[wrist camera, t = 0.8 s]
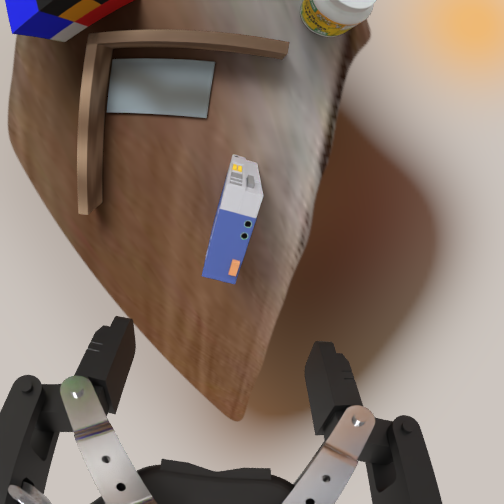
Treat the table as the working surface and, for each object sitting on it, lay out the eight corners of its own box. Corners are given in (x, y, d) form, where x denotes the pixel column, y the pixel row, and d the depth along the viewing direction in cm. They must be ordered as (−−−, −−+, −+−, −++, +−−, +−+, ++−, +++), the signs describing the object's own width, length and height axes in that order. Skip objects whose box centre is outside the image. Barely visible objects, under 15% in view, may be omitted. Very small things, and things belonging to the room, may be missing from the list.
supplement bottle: (358, 27, 25) (398, 7, 16) (317, 45, 26) (345, 26, 17) (331, -13, 23) (361, -46, 14) (288, 5, 24) (306, -28, 15)
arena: (105, 39, 24) (88, 33, 21) (283, 49, 26) (289, 42, 23) (93, 201, 33) (78, 213, 30) (253, 220, 35) (255, 235, 31)
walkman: (237, 226, 35) (235, 287, 25) (213, 220, 35) (200, 278, 24) (258, 160, 32) (266, 193, 21) (232, 153, 31) (226, 182, 21)
